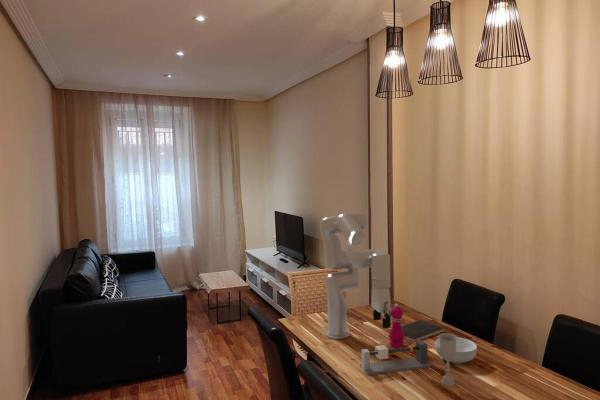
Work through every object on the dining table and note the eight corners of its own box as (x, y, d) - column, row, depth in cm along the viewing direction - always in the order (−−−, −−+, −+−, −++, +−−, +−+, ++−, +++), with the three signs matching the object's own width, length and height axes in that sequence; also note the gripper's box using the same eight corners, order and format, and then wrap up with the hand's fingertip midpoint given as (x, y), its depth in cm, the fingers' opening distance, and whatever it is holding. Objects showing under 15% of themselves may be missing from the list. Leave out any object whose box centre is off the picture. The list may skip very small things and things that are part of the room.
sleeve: (375, 355, 175) (375, 346, 175) (384, 354, 176) (384, 345, 176) (379, 359, 171) (378, 349, 171) (388, 358, 172) (388, 348, 172)
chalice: (435, 378, 165) (435, 333, 164) (452, 377, 165) (452, 332, 164) (443, 387, 158) (443, 341, 156) (460, 386, 158) (460, 340, 157)
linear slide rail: (359, 366, 176) (359, 345, 176) (421, 359, 182) (421, 338, 181) (366, 375, 168) (366, 353, 168) (430, 367, 174) (430, 345, 174)
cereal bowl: (475, 353, 186) (475, 338, 186) (478, 370, 170) (478, 353, 170) (435, 349, 192) (435, 334, 191) (434, 365, 176) (434, 349, 175)
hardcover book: (444, 332, 213) (444, 328, 213) (413, 343, 200) (413, 338, 200) (419, 323, 226) (419, 319, 226) (389, 333, 213) (389, 328, 213)
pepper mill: (405, 349, 193) (404, 306, 191) (389, 348, 194) (388, 305, 193) (404, 342, 200) (404, 301, 198) (389, 341, 201) (388, 301, 200)
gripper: (364, 278, 179) (365, 317, 180) (380, 288, 163) (381, 332, 163) (381, 277, 181) (381, 316, 182) (398, 287, 164) (399, 330, 165)
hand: (381, 323), depth 173 cm, fingers open, 9 cm apart
